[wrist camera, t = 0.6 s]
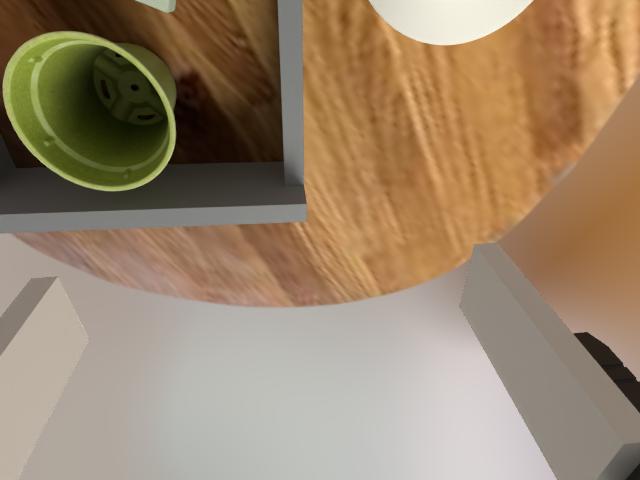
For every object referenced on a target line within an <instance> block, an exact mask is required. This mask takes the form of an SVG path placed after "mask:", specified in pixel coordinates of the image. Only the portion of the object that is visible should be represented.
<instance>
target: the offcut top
mask: <svg viewBox="0 0 640 480" xmlns="http://www.w3.org/2000/svg"><path fill="white" fill-rule="evenodd" d="M136 1H138V2H141V3H143V4H146V5H149V6H151V7H154V8H156V9H159V10H161V11H164V12H166V13H169V12H172V11H174V10H175V4H176V0H136Z"/></svg>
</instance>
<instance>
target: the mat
mask: <svg viewBox="0 0 640 480" xmlns="http://www.w3.org/2000/svg"><path fill="white" fill-rule="evenodd" d="M368 1H369V3H370V4H371V6H372V7H373V9H374V10H375V11H376V12H377V13H378V14H379V16H380V17H381V18H382V19H383V20H384V21H385V22H386V23H388V24H389V25H390V26H391V27H392V28H394V29H395V30H397V31H399V32H400V33H402V34H403V35H405V36H407V37H410V38H412V39H415V40H417V41H420V42H424V43H428V44H435V45H454V44H461V43H465V42H470V41H473V40H476V39H479V38H481V37H484V36H486V35H488V34H490V33H492V32H494V31H496V30H498V29H499V28H501V27H502V26H504V25H505V24H507V23H508V22H510V21H511V20H512V19H514V18H515V17H516V16H517V15H518V14H520V13H521V12H522V11H523V10H524V9H525V8H526V7H527V6H528V5H529V4H530V3H531V2H532V1H533V0H368Z"/></svg>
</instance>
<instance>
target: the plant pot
mask: <svg viewBox="0 0 640 480" xmlns="http://www.w3.org/2000/svg"><path fill="white" fill-rule="evenodd" d="M116 53H119V54H120V55H122V56H120V57H117V56H116ZM102 80H104V81H105V83H106V87H107V91H108V93H109V94H110V99H108V98H107V97H106V96H105V95H104V93H103V90H102V87H101V81H102ZM134 84H135V85H137V86H138V88H139V89H138V90H137V91H134V90H132V88H131V86H132V85H134ZM176 95H177V93H176V85H175V81H174V78H173V76H172V74H171V72H170V70H169V68H168V67H167V66H166V64H165V63H164V62H163V61H162V60H161V59H160V58H158V57H157V56H156V55H155V54H154V53H152V52H151V51H149V50H148V49H146V48H144V47H142V46H139V45H136V44H131V43H113V42H111V41H109V40H107V39H104V38H102V37H99V36H96V35H93V34H89V33H84V32H77V31H56V32H50V33H45V34H42V35H39V36H37V37H34V38H32V39H30V40H29V41H27V42H25V43H24V44H23V45H21V46H20V47H19V48H18V49H17V50H16V52H15V53H14V54H13V56H12V57H11V59H10V61H9V62H8V64H7V67H6V69H5V73H4V79H3V99H4V104H5V108H6V111H7V115H8V117H9V119H10V121H11V123H12V126H13V128H14V130H15V131H16V133H17V135H18V136H19V138H20V139H21V141H22V142H23V143H24V145H25V146H26V147H27V148H28V150H29V151H30V152H31V153H32V154H33V155H34V156H35V157H36V158H38V160H39V161H41V162H42V163H43V164H44V165H45V166H47V167H48V168H49V169H51V170H52V171H54V172H55V173H57V174H59V175H60V176H62V177H63V178H65V179H67V180H69V181H71V182H74V183H76V184H79V185H81V186H84V187H88V188H92V189H97V190H103V191H122V190H129V189H133V188H136V187H139V186H142V185H144V184H146V183H148V182H149V181H151V180H152V179H154V178H155V177H156V176H157V175H158V174H159V173H160V172H161V171H162V170H163V169H164V168H165V166H166V165H167V163H168V161H169V160H170V158H171V155H172V153H173V150H174V146H175V140H176V124H175V118H174V113H173V110H174V107H175V103H176ZM151 114H154V117H153V118H152V119H147V120H141V119H139V118H138V117H137V116H140V115H142V116H143V115H144V116H146V115H151Z"/></svg>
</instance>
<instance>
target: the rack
mask: <svg viewBox="0 0 640 480" xmlns="http://www.w3.org/2000/svg"><path fill="white" fill-rule="evenodd" d="M277 6H278V32H279V57H280V82H281V107H282V132H283V158H284V161H281V162H241V163H200V164H167V165H166V166H165V168H164V169H163V170H162V171H161V172H160V173H159V174H158V175H157V176H156V177H155V178H154V179H152V180H151V181H149V182H148V183H146V184H144V185H142V186H139V187H136V188H133V189H129V190H122V191H103V190H97V189H92V188H88V187H84V186H81V185H79V184H76V183H74V182H71V181H69V180H67V179H65V178H63V177H62V176H60V175H59V174H57V173H55V172H54V171H52V170H51V169H49V168H48V167H38V168H16V167H15V164H14V162H13V160H12V158H11V156H10V153H9V151H8V149H7V147H6V145H5V142H4V140H3V138H2V136H1V133H0V233H24V232H50V231H76V230H102V229H128V228H154V227H180V226H206V225H232V224H258V223H284V222H307V203H306V197H305V190H304V135H303V26H302V0H277Z"/></svg>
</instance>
